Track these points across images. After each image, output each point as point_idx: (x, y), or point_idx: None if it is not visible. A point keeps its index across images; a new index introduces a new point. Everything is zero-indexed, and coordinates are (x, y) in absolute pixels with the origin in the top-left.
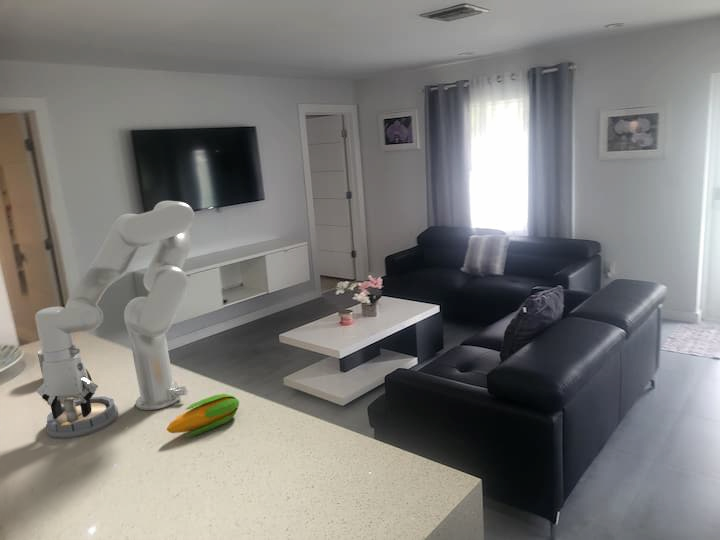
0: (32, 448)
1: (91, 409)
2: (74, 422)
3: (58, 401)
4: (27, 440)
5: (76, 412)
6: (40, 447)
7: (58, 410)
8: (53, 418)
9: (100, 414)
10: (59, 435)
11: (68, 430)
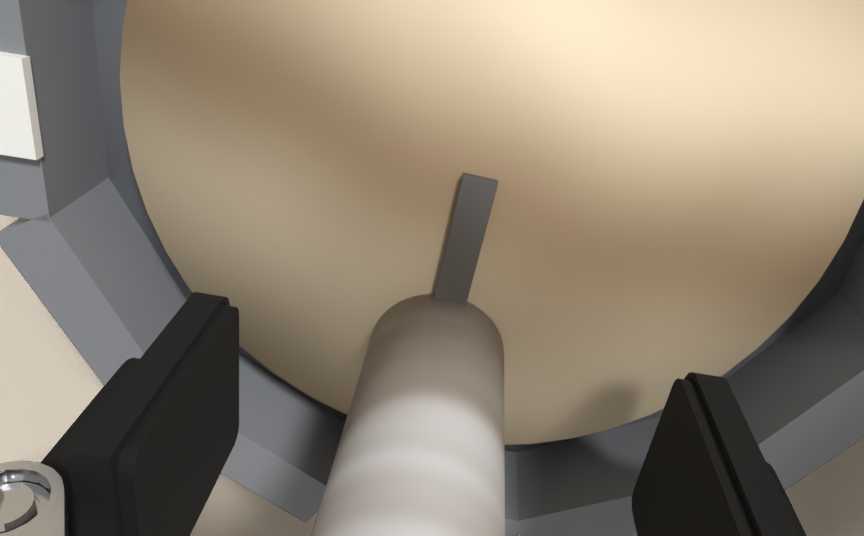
0: (200, 524)
1: (767, 464)
2: (529, 519)
3: (124, 492)
4: (41, 386)
5: (503, 421)
6: (265, 527)
7: (205, 436)
8: (84, 186)
9: (858, 408)
10: None
11: None
